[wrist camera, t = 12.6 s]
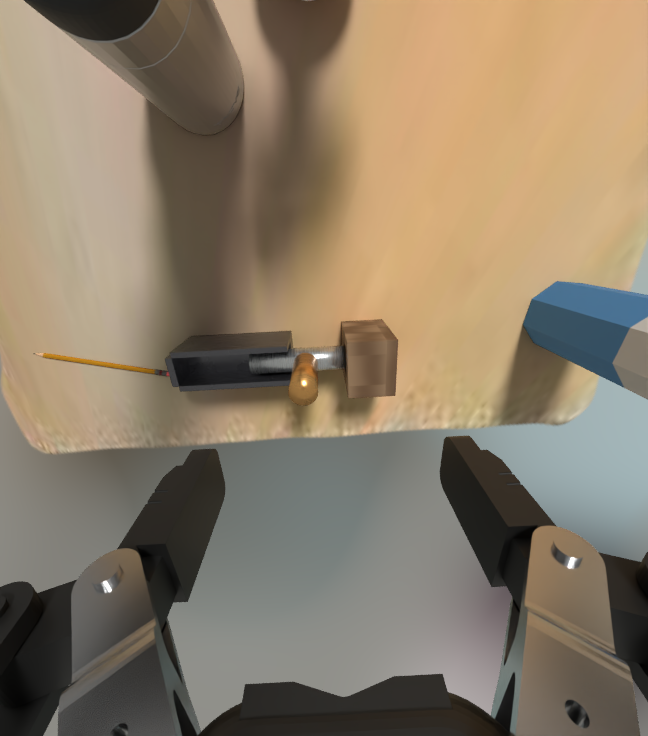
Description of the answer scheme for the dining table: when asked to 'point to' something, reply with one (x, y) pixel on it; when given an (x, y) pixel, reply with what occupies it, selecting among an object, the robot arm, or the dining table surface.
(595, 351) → the water bottle
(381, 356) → the socket block
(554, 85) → the dining table surface
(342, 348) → the tube
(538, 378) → the dining table surface
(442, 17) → the dining table surface
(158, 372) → the pencil
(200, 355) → the sleeve
